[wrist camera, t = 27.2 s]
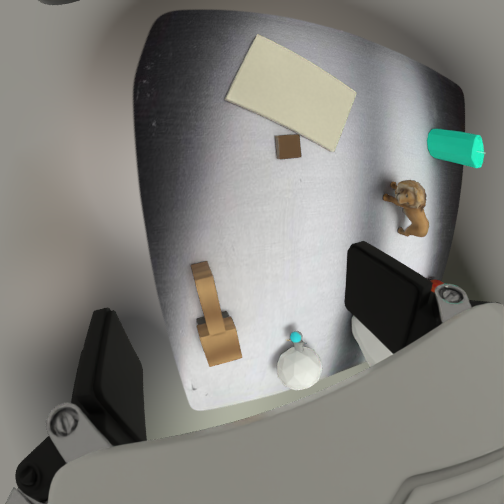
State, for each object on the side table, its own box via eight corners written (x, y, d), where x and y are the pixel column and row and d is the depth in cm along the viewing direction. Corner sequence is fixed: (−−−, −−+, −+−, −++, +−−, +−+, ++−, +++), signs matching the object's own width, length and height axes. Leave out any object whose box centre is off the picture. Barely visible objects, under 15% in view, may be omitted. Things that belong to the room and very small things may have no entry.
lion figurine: (366, 188, 39) (408, 202, 31) (384, 164, 38) (426, 174, 30) (402, 240, 46) (436, 258, 38) (416, 219, 45) (451, 235, 37)
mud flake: (274, 135, 32) (277, 135, 31) (296, 134, 32) (299, 134, 32) (276, 158, 33) (279, 159, 32) (297, 156, 34) (301, 157, 33)
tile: (223, 100, 28) (225, 98, 27) (255, 36, 26) (257, 33, 25) (330, 151, 35) (334, 152, 34) (352, 93, 32) (357, 92, 31)
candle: (427, 125, 38) (480, 133, 28) (443, 131, 40) (491, 139, 29) (426, 156, 41) (478, 168, 30) (442, 159, 42) (490, 171, 32)
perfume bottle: (271, 391, 45) (259, 343, 41) (294, 363, 51) (286, 315, 47) (309, 404, 40) (303, 355, 36) (330, 373, 46) (327, 323, 42)
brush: (180, 266, 34) (182, 283, 30) (217, 257, 36) (224, 273, 32) (204, 346, 41) (209, 367, 37) (234, 338, 42) (242, 357, 38)
